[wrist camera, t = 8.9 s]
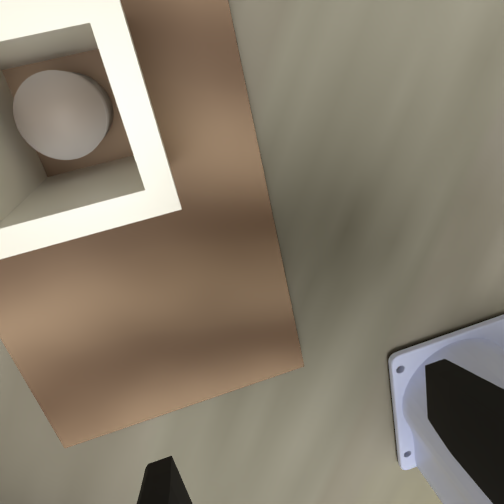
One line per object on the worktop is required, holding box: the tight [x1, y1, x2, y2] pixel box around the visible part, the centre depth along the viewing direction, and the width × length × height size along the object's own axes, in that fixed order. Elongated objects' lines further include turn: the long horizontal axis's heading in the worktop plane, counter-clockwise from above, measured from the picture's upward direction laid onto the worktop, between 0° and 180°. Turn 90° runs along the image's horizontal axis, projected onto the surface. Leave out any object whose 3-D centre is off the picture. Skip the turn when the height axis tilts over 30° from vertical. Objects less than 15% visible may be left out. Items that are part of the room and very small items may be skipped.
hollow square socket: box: [0, 0, 182, 259], centre depth 12 cm, size 5×5×6 cm
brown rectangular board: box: [0, 0, 304, 448], centre depth 16 cm, size 18×12×4 cm, turn 12°
